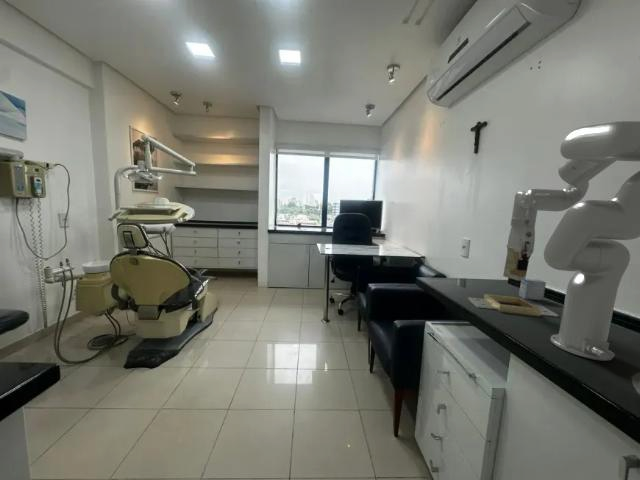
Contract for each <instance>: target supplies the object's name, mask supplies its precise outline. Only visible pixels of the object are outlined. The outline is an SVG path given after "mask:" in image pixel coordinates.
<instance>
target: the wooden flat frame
mask: <svg viewBox="0 0 640 480" xmlns="http://www.w3.org/2000/svg"><path fill="white" fill-rule="evenodd" d="M468 299H469V300H468ZM467 300H468V301H470V302H471V303H472V304H473V305H474V306H475V307H476V308H482V309H488V310H496V311H498V312H501V313H507V314H508V313H509V314H516V315H517V314H519V315H525V316H526V315H527V316H533V317H534V316H535V317H541V316H548V317H549V316H550V317H556V318H557V317H558V316H559V314H558V313H556V312H554V311H552V310H550V309H549V308H546V307H544V306H543V305H540V304H539V305H538V304H531V303H530V302H528V301H526V300H525V299H524V298H522V297H515V296H507V295H497V294H489V293H488V294H487V293H484V295H483V298H480V297H479V298H477V297H469V296H468V297H467ZM501 303H505V304H501ZM506 303H507V305H506ZM509 304H516V305H509ZM517 305H519V306H517Z"/></svg>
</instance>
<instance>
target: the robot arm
mask: <svg viewBox="0 0 640 480" xmlns="http://www.w3.org/2000/svg"><path fill="white" fill-rule="evenodd" d="M559 151H560V154H561V156H562V157H563V158H564V159H566V160H565V161H564V162H563V163H561V165H560V166H559V167H558V170H557V171H558V172H557V173H558V175H559V177H560V179H561V180H563V182H565V183H566V184H568V185H567V186H565V187H564V188H562V189H547V188H546V189H544V188H531V189H528V190H522V191H521V190H520V191H518V192H516V193H515V194H514V195H515V196H514V201H513V207H512V214H511V220H510V227H511V228H510V231H509V236H508V239H507V244H506V249H507V252H508V247H511V248H513V249H514V251H515V252H518V253H519V259H520V260H519V259H518V263H517V270H523V271H526V270H527V271H528V268H527V265H528V266H529V263H528V261H529V262H530V258H531V257H532V255H533V253H534V251H535V241H536V240H535V238H536V229H535V227H536V221H537V216H538V212H539V211H543V212H544V211H546V212H563V211H566V212H565V213H564V215H563V216H562V218H561V219H560V220H559V223H558V224H557V226H556V228H555V229H554V232H553V233H552V234H551V236H550V238H549V239H548V241H547V243H546V245H545V247H544V251H543V258H544V262H545V263H546V265H548V267H550V268H552V269H553V270H557V271H564V272H573V273H574V272H575V274H574V275H573V276H572V277H571V278H570V280H569V282H568V284H567V287H566V291H565V297H564V303H563V308H562V313H561V319H560V325H559V329H558V330H559V331H558V333H556V334H552V335H551V336H550V341H551V343H552V344H553V345H554V346H556V347H558V348H559V349H561V350H563V351H565V352H568V353H571V354H573V355H576V356H579V357H582V358H585V359H589V360H590V359H591V360H593V361H595V360H596V361H606V362H607V361H612V359H613V358H615V356H616V353H614V352H613V351H611V350H609V347H610V342H608V337H609V333H610V329H611V322H612V318H613V313H614V308H615V304H616V303H615V302H616V300H617V294H618V290H619V286H620V283H621V281H622V279H623V276H624V274H625V272H626V270H627V269H628V267H629V265H630V261H631V254H630V250H629V249H628V247H626V245H624V244H623V243H621V242H619V241H631V240H634V239H635V240H636V239H638V238H640V170H639V171H637V172H635V173H634V174H633V175H631V176H630V177H629V178H628V179H626V180H625V181H624V183H623V184H622V185H621V187H620V188H619V190H618V191H617V192H616V193H615V195H614V196H613V197H612V198H610V199H609V200H603V199H601V200H600V199H597V200H596V199H590V200H583V198H584V197H585V196H586V194H587V192H588V190H589V187H590V183H589V181H590V180H592V179H594V178H595V177H596V176H598V175H599V174H600V173H602V172H603V171H604V170H605V169H607V168H609V167H610V166H611V165H612V164H614V163H615V162H617V161H618V162H619V161H620V162H621V161H622V162H640V121H638V120H634V121H633V120H625V121H624V120H622V121H612V122H607V123H600V124H594V125H586V126H581V127H578V128H576V129H574V130H573V131H571V132H570V133H568V134H567V135H566V137H565V138H564V139H563V141H562V142H561V145H560V149H559ZM618 240H619V241H618ZM522 250H526V252H522ZM522 254H524V255H523V256H522Z"/></svg>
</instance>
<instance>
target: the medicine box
mask: <svg viewBox="0 0 640 480" xmlns="http://www.w3.org/2000/svg"><path fill="white" fill-rule="evenodd" d="M546 284H547V281H544V280H541V279H537V278H536V279H535V278H526V279H525V280H520V285H519V286H520V287H519V293H518V297H519V298H521V299H523V300H525V299H526V300H534V301H536V300H537V301H543V300H544V296H545V292H546Z"/></svg>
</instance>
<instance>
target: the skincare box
mask: <svg viewBox="0 0 640 480" xmlns="http://www.w3.org/2000/svg"><path fill="white" fill-rule="evenodd" d="M522 252H526V250H522ZM523 255H524V254H522V256H523ZM518 259H519V253H518V252H515V251H514V249H513V248H511V247H508V252H507V253H506V259H505V263H504V269H503V275H502V277H505V278H508V279H512V280H515V281H521V280H525V279H527V272H528V267H529V263H530V260H529V261H528V265H527V270H526V271H523V270H517V263H518ZM519 260H520V259H519Z"/></svg>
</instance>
